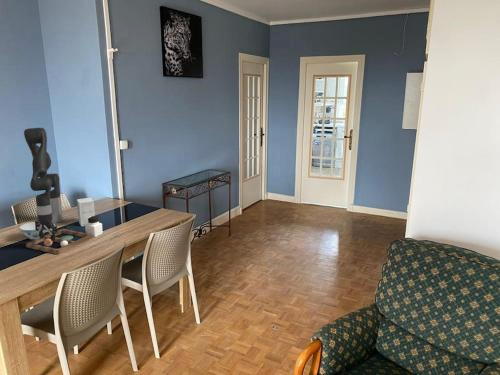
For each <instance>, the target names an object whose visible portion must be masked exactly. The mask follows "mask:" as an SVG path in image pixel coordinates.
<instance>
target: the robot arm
mask: <svg viewBox="0 0 500 375" xmlns="http://www.w3.org/2000/svg"><path fill="white" fill-rule="evenodd" d="M23 136H24V139H25V141H26V144H27V146H28V148H29V150H30V153H31V156H32V162H31V164H32V174H31V175H32V176H31V178H30V183H29V186H30V189H31V190H32V191H34V192H41V191H44V192H43V193H40V194H37V195H36V196H35V205H36V217H37V220H35V221H34V222H35V229H36V231H38V232H39V237H40V239H42V238H44V236H45V235H44V234H45V233H43V232H42V231H43V230H46V232H47V233H48V234H51V235H50V236H51V241H52V242H53V241H54V240H55V237H56V236H55V234H56V233H58V225H57V223H60V222H63V221H64V218H63V217H64V216H63V209H62V208H63V206H62V199H61V188H60V187H61V186H60V176H59V174H58V173H48V170H49V169H50V168H51V166H52V160H51V156H50V154H49V152H48V151H47V148H48V147H47V146H48V136H47V132H46V129H45V128H44V127H31V128H30V127H29V128H26V129H24V130H23ZM38 144H40V146H38ZM52 188H53V189H52Z"/></svg>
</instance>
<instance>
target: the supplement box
mask: <svg viewBox="0 0 500 375" xmlns="http://www.w3.org/2000/svg"><path fill="white" fill-rule="evenodd" d="M76 206H77V216H78V223H79V225H80V227H85V225H87V224H88V217H90V216H96V213H95V203H94V200H93V198H92V197H85V198H78V199H76Z"/></svg>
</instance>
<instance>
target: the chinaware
mask: <svg viewBox="0 0 500 375" xmlns="http://www.w3.org/2000/svg"><path fill="white" fill-rule="evenodd" d="M19 231H20V232H21V234H22V235H23V236H24V237H26V238H28V239H29V240H35V239H38V238H40V237H39V232H38V231H36V229H35V221H32V222H31V221H30V222H26V223H23V224H22V225H20V226H19ZM42 232H43V233H44V234H45V233H46V232H47V230H43V231H42Z"/></svg>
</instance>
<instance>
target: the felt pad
mask: <svg viewBox="0 0 500 375" xmlns="http://www.w3.org/2000/svg"><path fill="white" fill-rule="evenodd" d="M59 238H61V239H66V240H71V241H72V239H74V235H63V236H60V237H59Z"/></svg>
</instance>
